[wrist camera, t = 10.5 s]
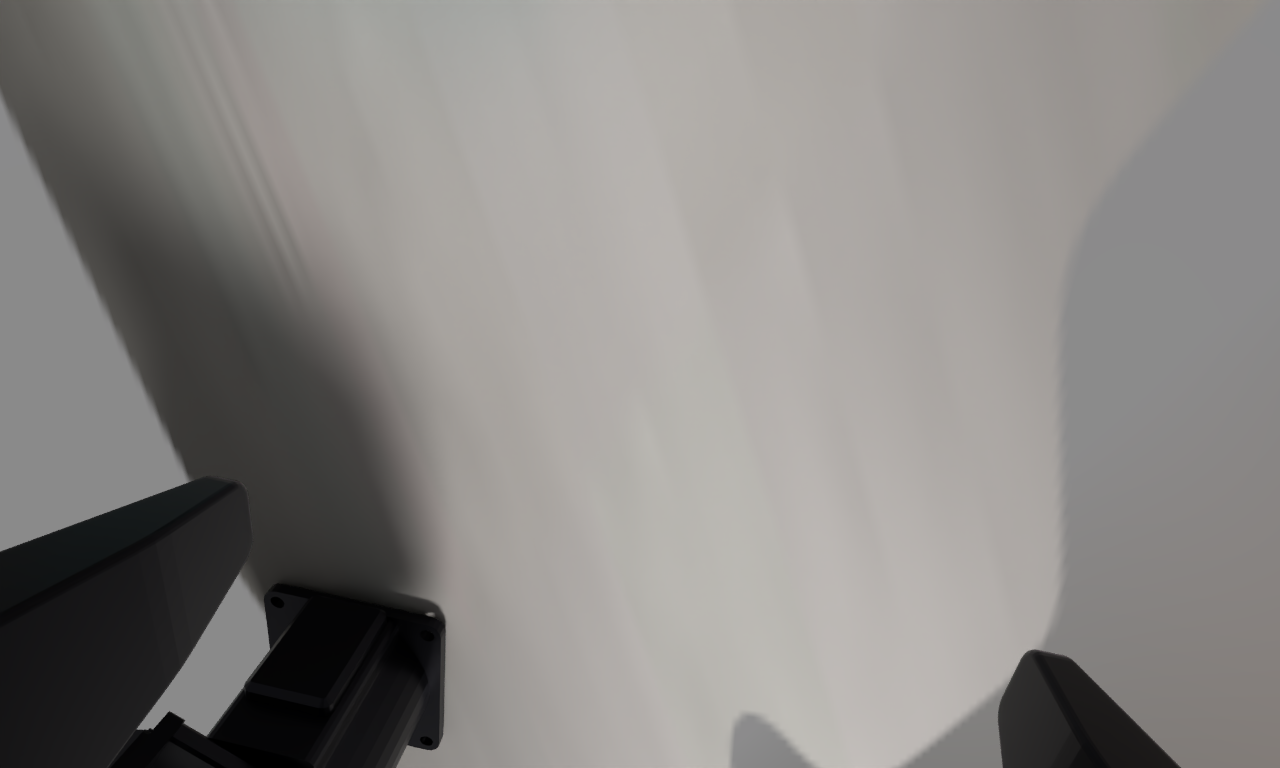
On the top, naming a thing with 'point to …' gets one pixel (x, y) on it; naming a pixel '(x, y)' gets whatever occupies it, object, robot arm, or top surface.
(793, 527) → the top surface
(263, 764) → the robot arm
